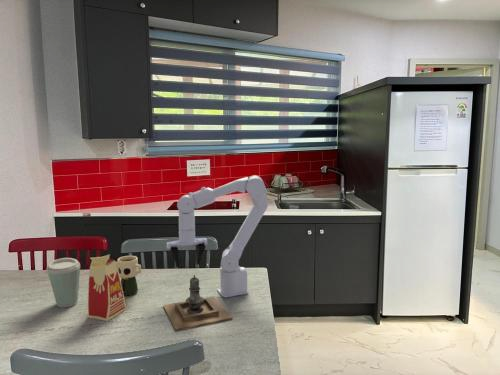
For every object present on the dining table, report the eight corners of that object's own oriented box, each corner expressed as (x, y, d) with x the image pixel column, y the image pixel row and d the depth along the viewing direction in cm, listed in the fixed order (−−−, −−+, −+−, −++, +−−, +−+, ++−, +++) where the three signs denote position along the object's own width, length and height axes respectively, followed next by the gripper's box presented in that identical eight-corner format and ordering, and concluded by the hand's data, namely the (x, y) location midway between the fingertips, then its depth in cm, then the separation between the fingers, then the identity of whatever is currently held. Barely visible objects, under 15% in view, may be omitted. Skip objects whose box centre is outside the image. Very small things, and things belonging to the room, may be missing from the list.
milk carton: (126, 309, 133) (123, 251, 130) (108, 321, 125) (104, 259, 122) (104, 305, 136) (100, 248, 133) (84, 317, 128) (80, 256, 125)
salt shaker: (201, 314, 128) (201, 278, 126) (183, 313, 128) (182, 277, 127) (205, 306, 133) (205, 272, 132) (188, 305, 134) (187, 271, 132)
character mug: (110, 294, 145) (108, 260, 143) (122, 287, 152) (120, 254, 150) (136, 298, 142) (134, 263, 140) (147, 290, 148) (146, 257, 146)
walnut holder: (214, 297, 142) (214, 292, 142) (232, 319, 126) (232, 313, 125) (163, 306, 135) (163, 301, 135) (175, 331, 118) (175, 324, 118)
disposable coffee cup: (88, 303, 138) (85, 261, 136) (56, 314, 130) (53, 269, 128) (75, 295, 145) (72, 255, 143) (43, 304, 137) (40, 262, 135)
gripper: (203, 224, 150) (203, 259, 151) (164, 228, 144) (165, 264, 146) (209, 228, 143) (209, 265, 145) (168, 232, 137) (169, 270, 139)
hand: (187, 265), depth 145 cm, fingers open, 7 cm apart
